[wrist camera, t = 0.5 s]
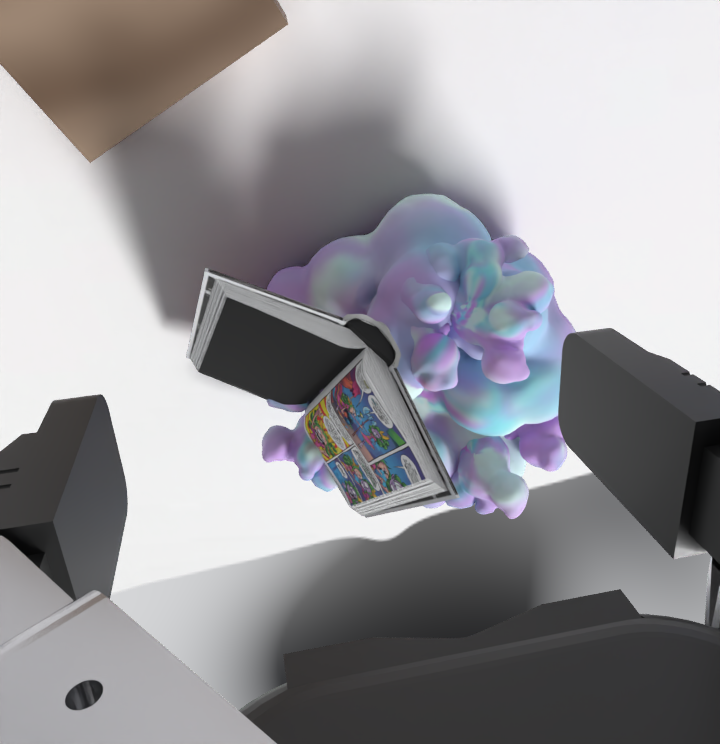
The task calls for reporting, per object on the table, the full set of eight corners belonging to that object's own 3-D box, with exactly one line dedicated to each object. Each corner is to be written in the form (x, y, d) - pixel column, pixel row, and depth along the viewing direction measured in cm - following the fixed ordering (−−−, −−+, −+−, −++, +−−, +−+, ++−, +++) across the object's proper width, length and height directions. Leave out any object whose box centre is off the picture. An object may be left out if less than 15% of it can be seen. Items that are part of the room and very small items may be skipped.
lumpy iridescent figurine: (614, 407, 47) (717, 505, 30) (349, 547, 51) (302, 705, 34) (465, 146, 45) (481, 87, 28) (201, 314, 49) (71, 354, 32)
